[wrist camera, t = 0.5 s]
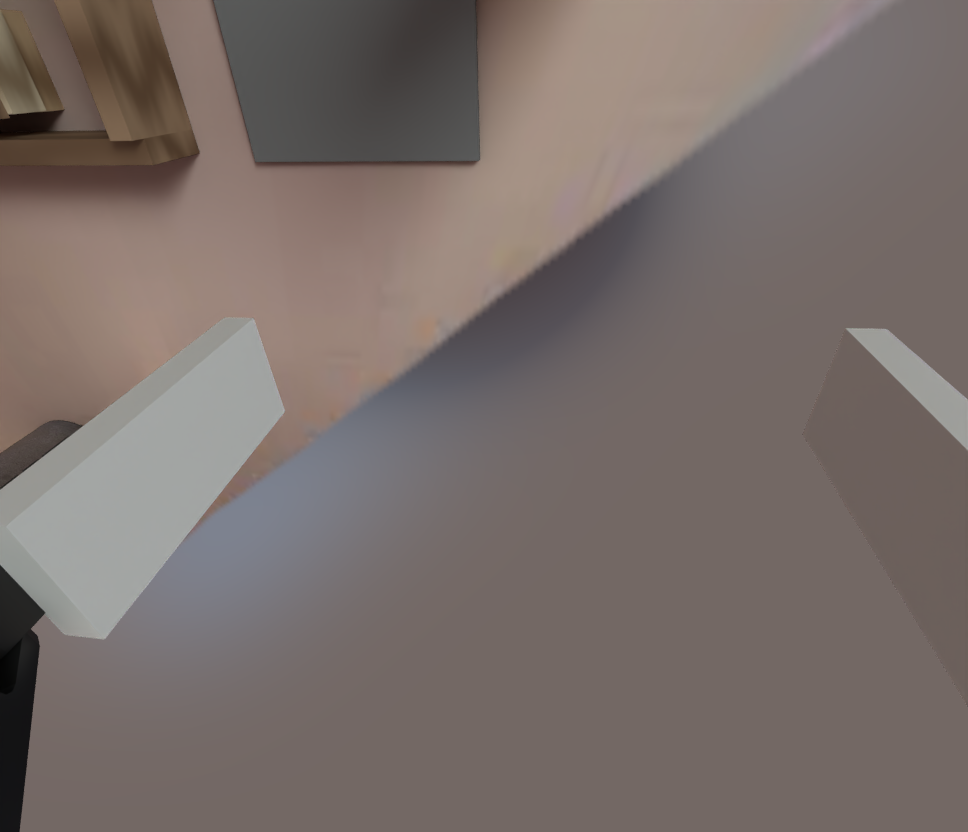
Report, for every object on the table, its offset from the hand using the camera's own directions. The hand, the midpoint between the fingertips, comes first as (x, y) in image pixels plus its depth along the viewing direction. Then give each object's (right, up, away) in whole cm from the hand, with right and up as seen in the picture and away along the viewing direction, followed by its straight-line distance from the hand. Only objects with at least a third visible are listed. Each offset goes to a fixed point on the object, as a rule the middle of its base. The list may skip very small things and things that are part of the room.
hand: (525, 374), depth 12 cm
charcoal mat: (-9, +23, +19) cm, 31 cm away
